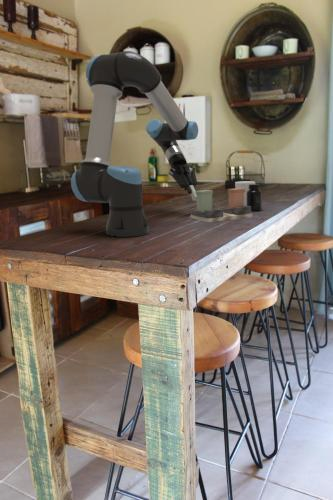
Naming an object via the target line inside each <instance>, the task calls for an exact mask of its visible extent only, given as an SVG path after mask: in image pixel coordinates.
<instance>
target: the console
mask: <svg viewBox="0 0 333 500" xmlns="http://www.w3.org/2000/svg"><path fill="white" fill-rule="evenodd" d="M253 216H254V215H253V213H252V211H251V206H239V207H233V209H229V207H223V206H219V207H218V208H214V209H213V208H212V209H211V210H205V212H201V211H197V209H196V210H195V209H191V214H189V219H191V220H196V221H201V222H203V223H209V222H210V223H214V222H215V223H216V222H217V221H218V222H225V221H233V220H234V221H235V220H241V219H247V218H249V219H250V218H254V217H253ZM218 222H217V223H218Z"/></svg>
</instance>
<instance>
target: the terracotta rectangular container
mask: <svg viewBox="0 0 333 500" xmlns="http://www.w3.org/2000/svg"><path fill="white" fill-rule="evenodd" d="M244 192H245V189H242V188H227V193H228V208H229V209H233V207H239V206H244Z"/></svg>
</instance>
